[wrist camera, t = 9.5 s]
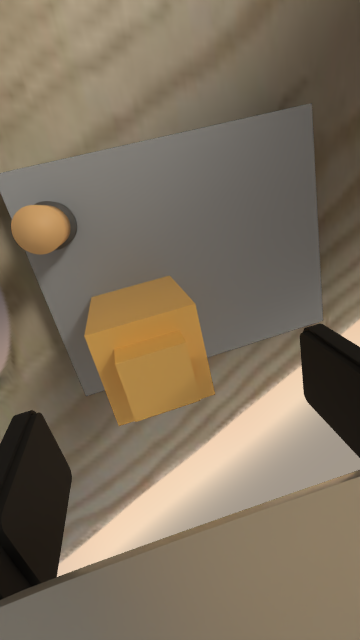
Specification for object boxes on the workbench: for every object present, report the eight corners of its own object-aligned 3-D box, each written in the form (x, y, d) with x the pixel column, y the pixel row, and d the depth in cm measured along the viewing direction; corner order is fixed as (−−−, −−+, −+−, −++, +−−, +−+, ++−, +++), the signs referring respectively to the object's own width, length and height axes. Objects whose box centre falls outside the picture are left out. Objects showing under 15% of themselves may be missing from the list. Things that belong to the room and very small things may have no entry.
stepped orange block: (169, 275, 19) (204, 313, 12) (186, 344, 21) (224, 411, 14) (91, 297, 19) (81, 349, 12) (115, 366, 21) (119, 446, 14)
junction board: (297, 110, 19) (373, 71, 14) (310, 314, 25) (369, 345, 19) (2, 177, 17) (-49, 162, 12) (87, 384, 22) (80, 442, 17)
